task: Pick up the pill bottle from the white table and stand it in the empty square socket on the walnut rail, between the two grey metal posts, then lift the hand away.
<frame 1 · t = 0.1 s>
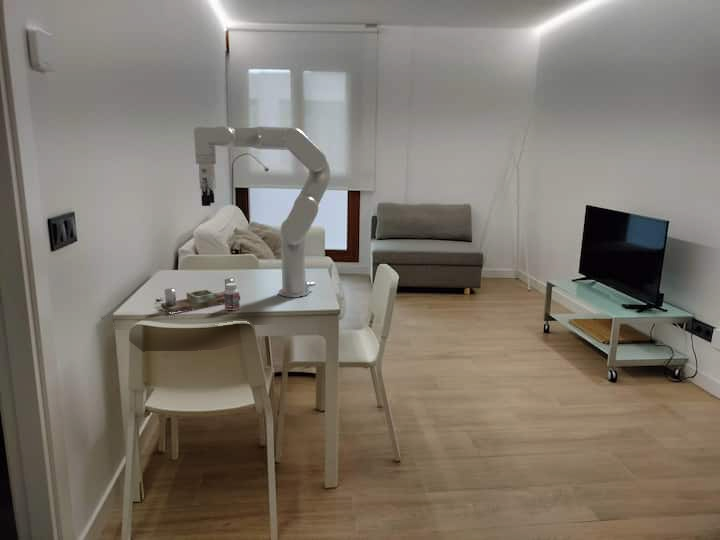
hand: (208, 204, 209), 37 cm above the table, tool pointing down, fingers open, 9 cm apart
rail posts: (201, 291, 204), in the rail, point 5 cm above the table
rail: (201, 304, 206), on the table
pill bottle: (232, 309, 200), on the table
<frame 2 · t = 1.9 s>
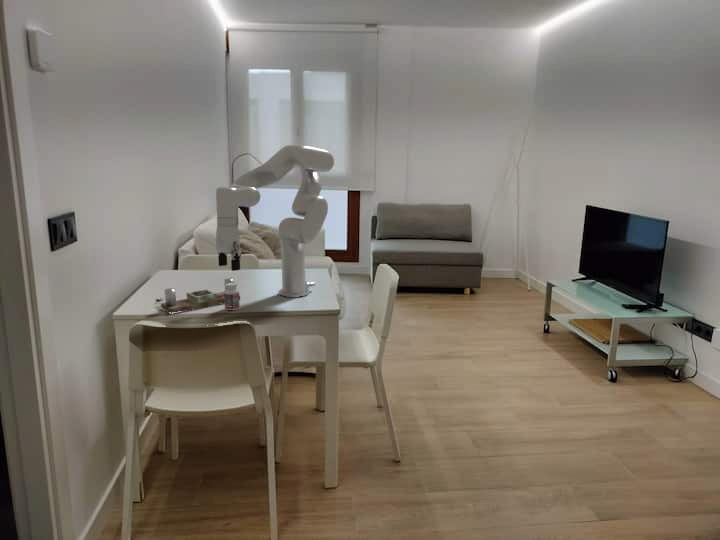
hand: (229, 267, 196), 16 cm above the table, tool pointing down, fingers open, 9 cm apart
nothing on the table moved.
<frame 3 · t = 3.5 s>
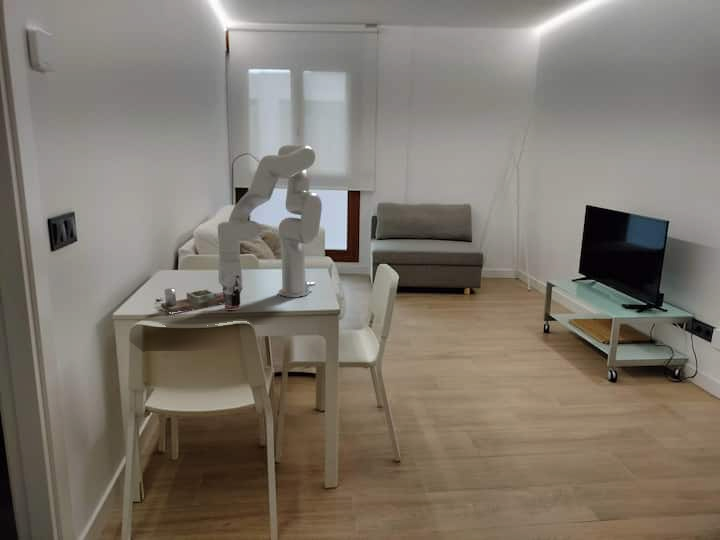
hand: (232, 302, 199), 2 cm above the table, tool pointing down, fingers closed on pill bottle, 5 cm apart
pill bottle: (232, 309, 200), on the table, touching gripper
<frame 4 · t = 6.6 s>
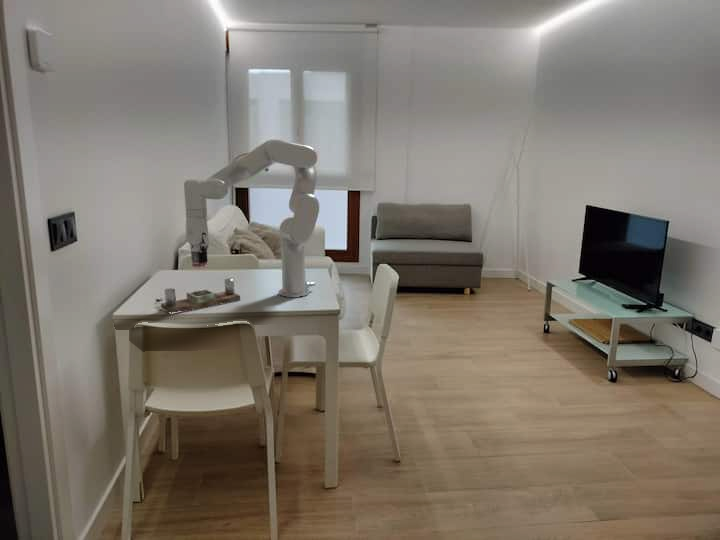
hand: (199, 260, 202), 17 cm above the table, tool pointing down, fingers closed on pill bottle, 5 cm apart
pill bottle: (199, 267, 202), point 15 cm above the table, touching gripper
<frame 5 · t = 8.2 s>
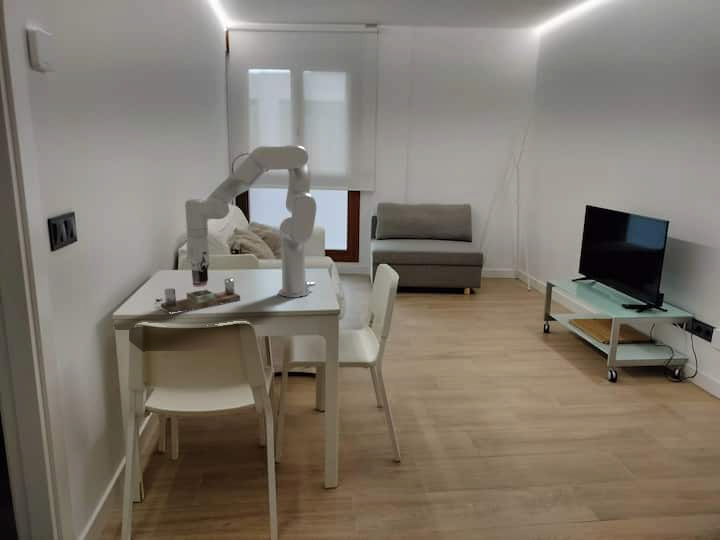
hand: (200, 279, 203), 10 cm above the table, tool pointing down, fingers closed on pill bottle, 5 cm apart
pill bottle: (200, 286, 204), point 7 cm above the table, touching gripper
when the fingers open (6 cm above the table, at t = 9.6 s): pill bottle drops 1 cm, resting on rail.
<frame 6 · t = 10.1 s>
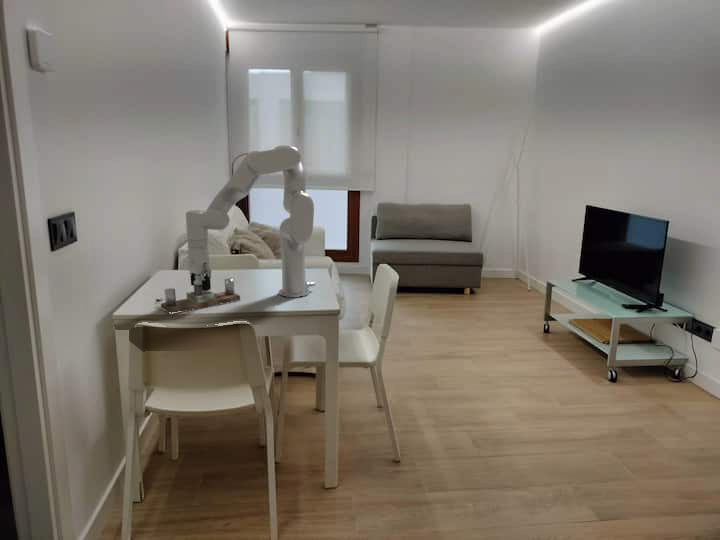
hand: (200, 287, 204), 7 cm above the table, tool pointing down, fingers open, 9 cm apart
pill bottle: (202, 299, 205), point 2 cm above the table, touching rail
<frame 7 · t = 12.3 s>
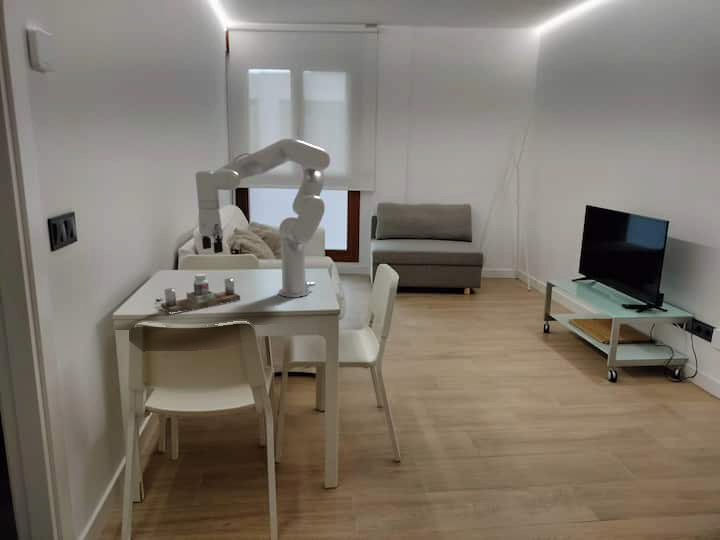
hand: (212, 250, 200), 21 cm above the table, tool pointing down, fingers open, 9 cm apart
nothing on the table moved.
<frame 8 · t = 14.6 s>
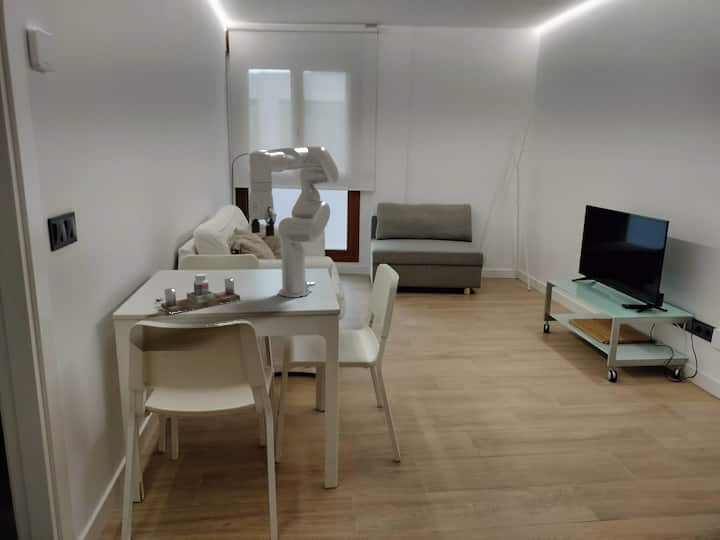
hand: (262, 234, 195), 28 cm above the table, tool pointing down, fingers open, 9 cm apart
nothing on the table moved.
at the end: pill bottle 0.1 cm off-centre on the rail, point 1.8 cm above the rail's base; pill bottle tilted 0°; the gripper is holding nothing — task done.
